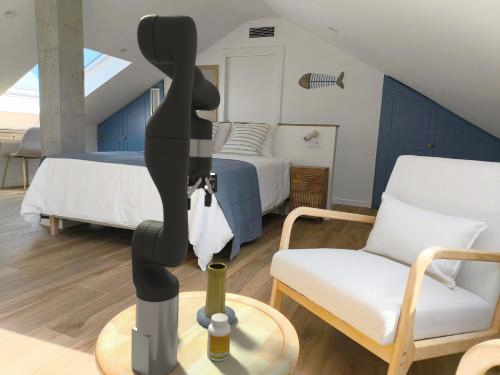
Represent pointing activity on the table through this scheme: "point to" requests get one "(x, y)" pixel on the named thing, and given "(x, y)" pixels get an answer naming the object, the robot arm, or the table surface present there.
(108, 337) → the table surface
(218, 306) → the vase
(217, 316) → the supplement bottle
